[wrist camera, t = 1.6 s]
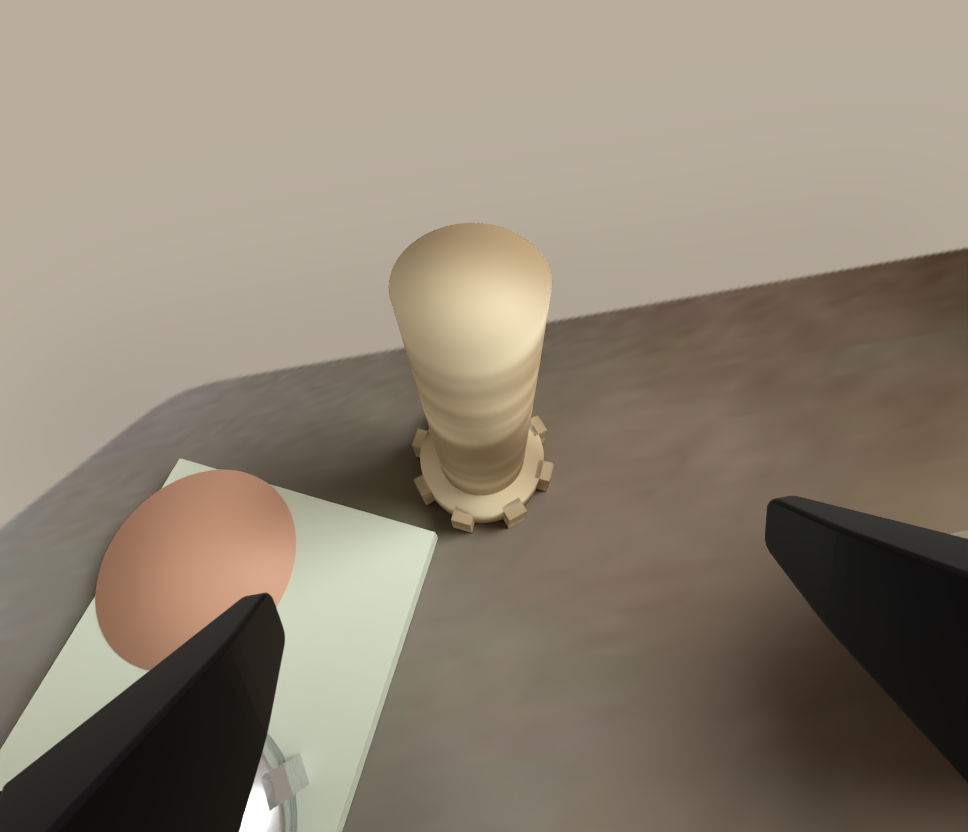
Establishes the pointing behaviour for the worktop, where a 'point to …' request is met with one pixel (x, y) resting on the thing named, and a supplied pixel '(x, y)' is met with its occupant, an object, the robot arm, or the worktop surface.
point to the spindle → (475, 367)
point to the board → (221, 583)
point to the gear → (274, 792)
